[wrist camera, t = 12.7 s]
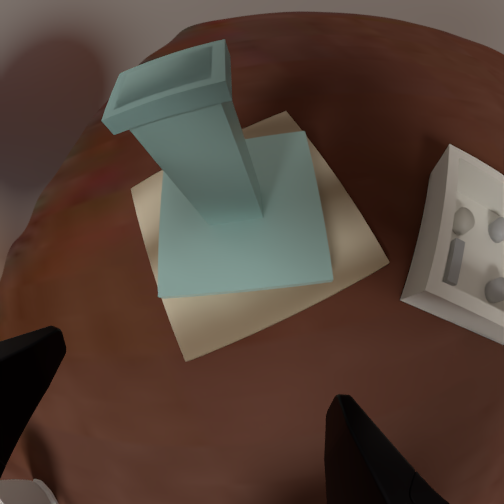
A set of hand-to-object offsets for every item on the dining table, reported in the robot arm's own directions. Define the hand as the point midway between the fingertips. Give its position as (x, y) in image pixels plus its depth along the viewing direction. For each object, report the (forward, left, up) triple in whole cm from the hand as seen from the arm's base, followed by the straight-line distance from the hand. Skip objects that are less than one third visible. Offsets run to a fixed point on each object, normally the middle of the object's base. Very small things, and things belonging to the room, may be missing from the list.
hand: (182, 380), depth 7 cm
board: (+8, -3, -9) cm, 13 cm away
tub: (-2, -17, -9) cm, 20 cm away
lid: (+8, -3, -9) cm, 12 cm away
